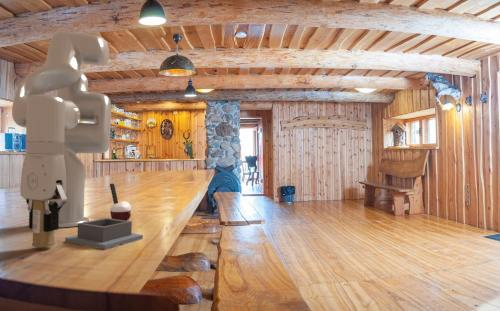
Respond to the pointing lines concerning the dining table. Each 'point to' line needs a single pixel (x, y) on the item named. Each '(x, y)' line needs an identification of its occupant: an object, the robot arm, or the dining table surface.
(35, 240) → the sprinkles bottle
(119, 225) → the bottle stand
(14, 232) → the dining table surface
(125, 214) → the cocoa
